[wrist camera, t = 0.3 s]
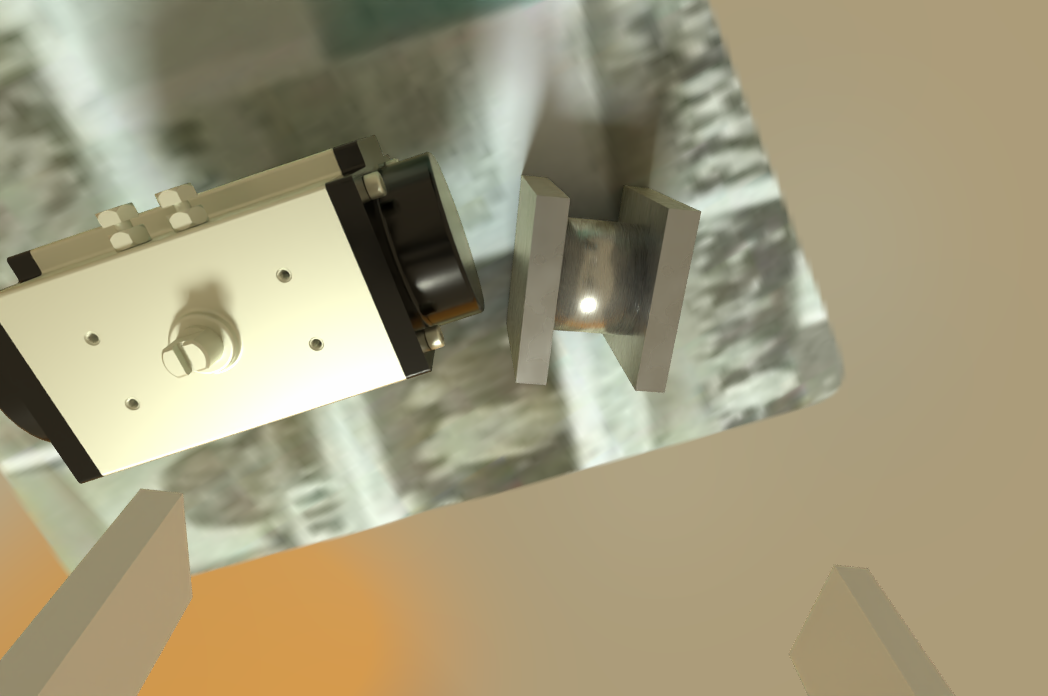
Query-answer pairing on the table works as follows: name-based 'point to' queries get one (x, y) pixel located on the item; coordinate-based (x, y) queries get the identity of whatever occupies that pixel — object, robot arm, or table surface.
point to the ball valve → (233, 306)
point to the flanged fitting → (599, 279)
